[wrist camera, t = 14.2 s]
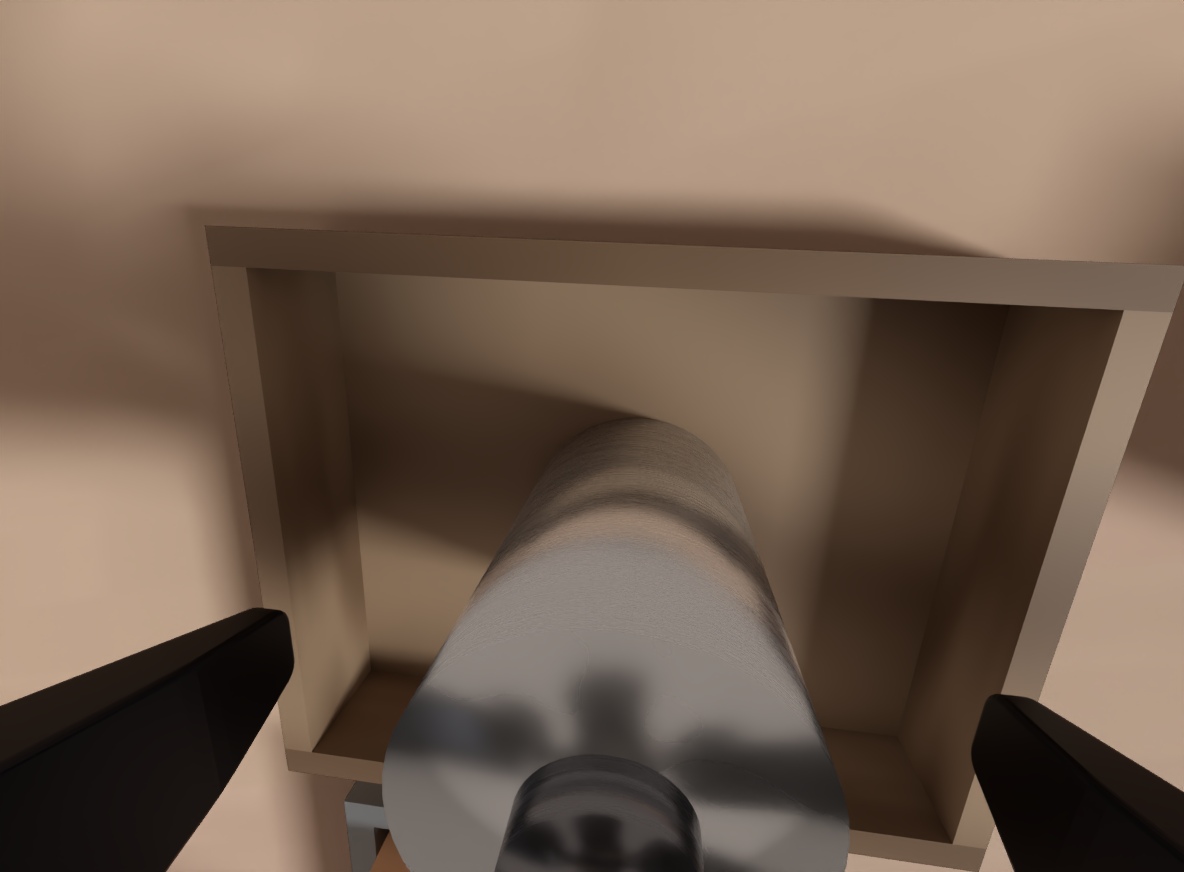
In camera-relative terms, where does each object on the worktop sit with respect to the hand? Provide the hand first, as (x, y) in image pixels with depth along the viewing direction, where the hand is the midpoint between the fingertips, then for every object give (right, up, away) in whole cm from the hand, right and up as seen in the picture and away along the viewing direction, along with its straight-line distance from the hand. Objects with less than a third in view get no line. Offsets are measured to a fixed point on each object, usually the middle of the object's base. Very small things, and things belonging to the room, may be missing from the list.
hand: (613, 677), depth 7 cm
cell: (+1, +1, +5) cm, 5 cm away
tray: (+1, +1, +5) cm, 6 cm away
